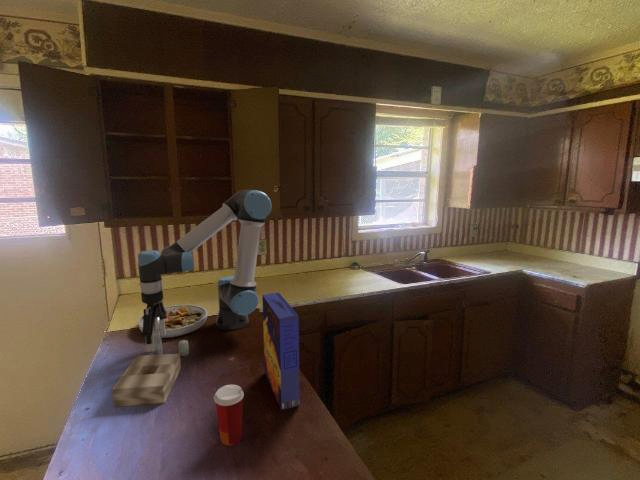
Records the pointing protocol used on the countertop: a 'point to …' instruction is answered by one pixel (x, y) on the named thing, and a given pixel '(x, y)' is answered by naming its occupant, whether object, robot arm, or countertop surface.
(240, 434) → the paper cup
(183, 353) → the grey-green rounded piece
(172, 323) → the bowl
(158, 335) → the long steel pin
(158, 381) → the hole block
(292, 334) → the cereal box
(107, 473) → the countertop surface
